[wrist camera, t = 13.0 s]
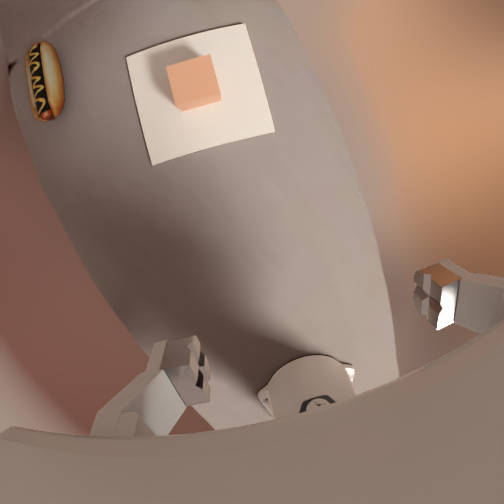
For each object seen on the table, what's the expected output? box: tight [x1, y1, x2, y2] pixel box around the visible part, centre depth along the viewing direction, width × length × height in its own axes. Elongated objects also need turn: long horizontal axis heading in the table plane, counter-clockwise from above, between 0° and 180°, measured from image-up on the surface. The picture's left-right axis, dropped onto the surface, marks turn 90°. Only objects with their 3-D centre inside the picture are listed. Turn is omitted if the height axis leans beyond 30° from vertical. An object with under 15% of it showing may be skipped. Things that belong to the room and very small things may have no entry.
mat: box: [126, 24, 275, 165], centre depth 31 cm, size 16×16×1 cm
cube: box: [166, 54, 221, 112], centre depth 28 cm, size 5×5×5 cm
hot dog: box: [25, 42, 65, 122], centre depth 26 cm, size 5×13×5 cm, turn 17°
